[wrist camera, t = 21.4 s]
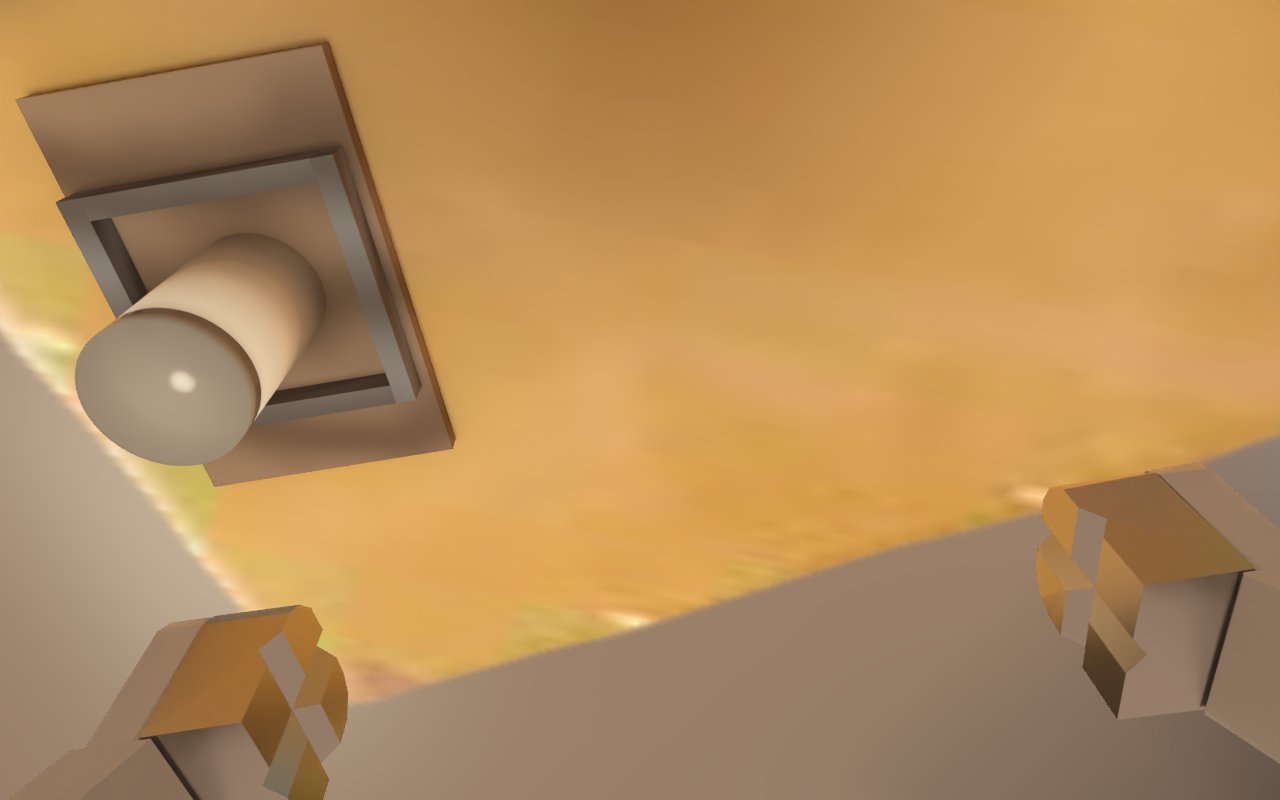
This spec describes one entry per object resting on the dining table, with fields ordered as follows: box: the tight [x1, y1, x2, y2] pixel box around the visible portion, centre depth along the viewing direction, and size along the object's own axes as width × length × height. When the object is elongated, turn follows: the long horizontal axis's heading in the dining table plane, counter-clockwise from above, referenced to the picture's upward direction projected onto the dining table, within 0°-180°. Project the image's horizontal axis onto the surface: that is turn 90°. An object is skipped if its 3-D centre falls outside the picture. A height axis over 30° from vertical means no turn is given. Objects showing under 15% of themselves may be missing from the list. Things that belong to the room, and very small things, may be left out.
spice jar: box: [75, 233, 326, 466], centre depth 34 cm, size 6×6×10 cm
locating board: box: [16, 42, 455, 487], centre depth 39 cm, size 20×13×2 cm, turn 9°
